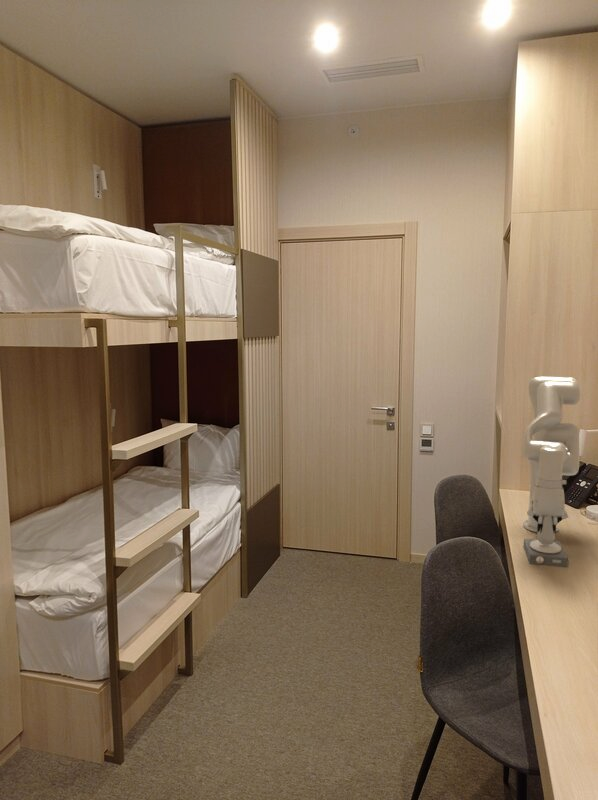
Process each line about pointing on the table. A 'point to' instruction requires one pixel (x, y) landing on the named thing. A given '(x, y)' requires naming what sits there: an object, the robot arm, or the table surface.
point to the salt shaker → (546, 531)
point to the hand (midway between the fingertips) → (546, 533)
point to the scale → (545, 553)
